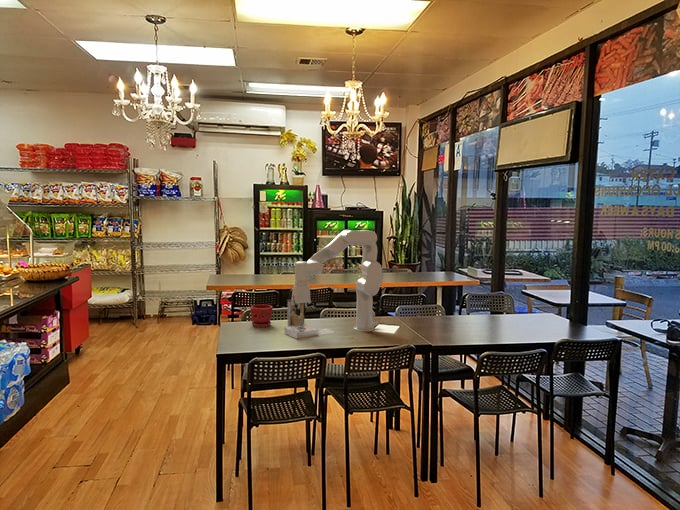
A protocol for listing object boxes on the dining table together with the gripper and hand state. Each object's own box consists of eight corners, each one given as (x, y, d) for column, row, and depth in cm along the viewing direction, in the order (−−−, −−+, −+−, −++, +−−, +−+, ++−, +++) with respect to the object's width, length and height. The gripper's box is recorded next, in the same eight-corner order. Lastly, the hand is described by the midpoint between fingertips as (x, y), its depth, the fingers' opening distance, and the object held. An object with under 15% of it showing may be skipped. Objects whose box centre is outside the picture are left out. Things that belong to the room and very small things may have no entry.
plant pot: (274, 327, 283) (274, 307, 282) (253, 328, 278) (253, 308, 277) (269, 321, 295) (269, 303, 294) (248, 323, 290) (248, 304, 289)
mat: (326, 329, 281) (326, 328, 281) (336, 332, 273) (336, 332, 273) (312, 331, 275) (312, 330, 275) (321, 335, 267) (321, 334, 267)
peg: (301, 318, 269) (302, 302, 268) (304, 319, 267) (304, 303, 266) (297, 319, 268) (297, 303, 267) (299, 320, 265) (300, 304, 264)
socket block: (305, 329, 278) (305, 324, 278) (317, 335, 267) (318, 329, 266) (284, 333, 270) (284, 327, 270) (296, 339, 259) (296, 333, 258)
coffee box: (301, 324, 292) (301, 298, 290) (304, 326, 286) (304, 300, 284) (287, 325, 288) (287, 299, 286) (289, 327, 282) (290, 301, 281)
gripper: (310, 281, 273) (309, 312, 275) (285, 283, 263) (285, 315, 265) (317, 283, 267) (316, 314, 269) (292, 285, 257) (291, 318, 259)
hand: (300, 314), depth 267 cm, fingers closed on peg, 3 cm apart
